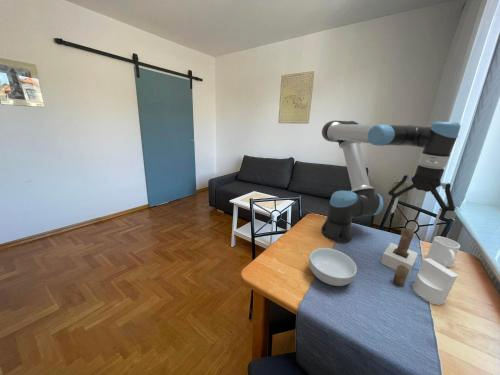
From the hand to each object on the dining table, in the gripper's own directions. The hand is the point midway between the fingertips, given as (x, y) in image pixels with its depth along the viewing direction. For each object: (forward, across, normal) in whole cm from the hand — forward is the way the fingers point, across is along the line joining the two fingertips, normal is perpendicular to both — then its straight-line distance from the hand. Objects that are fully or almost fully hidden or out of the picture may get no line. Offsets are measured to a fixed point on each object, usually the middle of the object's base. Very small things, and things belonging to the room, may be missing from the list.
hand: (412, 218), depth 81 cm
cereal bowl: (+22, -16, -30) cm, 41 cm away
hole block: (+22, 0, 0) cm, 22 cm away
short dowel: (+22, +4, -14) cm, 26 cm away
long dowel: (+22, 0, 0) cm, 22 cm away
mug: (+22, +14, +14) cm, 29 cm away
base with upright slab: (+22, +12, -11) cm, 27 cm away
